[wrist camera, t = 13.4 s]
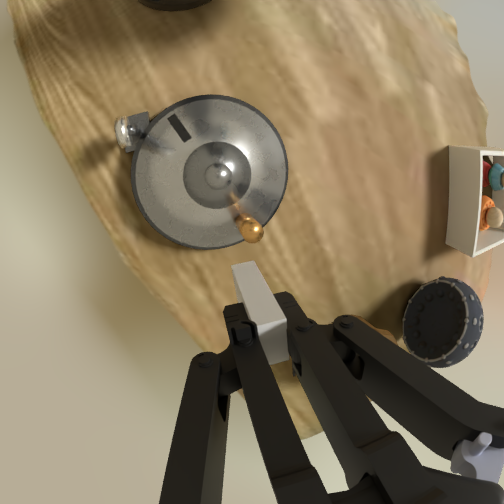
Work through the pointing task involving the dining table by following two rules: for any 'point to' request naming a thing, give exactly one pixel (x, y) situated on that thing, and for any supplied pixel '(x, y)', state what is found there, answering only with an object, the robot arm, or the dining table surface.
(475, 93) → the dining table surface
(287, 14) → the dining table surface
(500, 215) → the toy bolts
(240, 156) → the cover
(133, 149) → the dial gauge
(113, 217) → the dining table surface
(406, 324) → the dark decorated bowl
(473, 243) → the parts crate
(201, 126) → the turntable
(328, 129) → the dining table surface
